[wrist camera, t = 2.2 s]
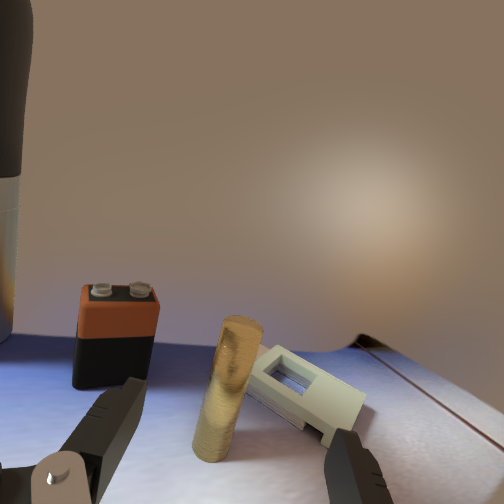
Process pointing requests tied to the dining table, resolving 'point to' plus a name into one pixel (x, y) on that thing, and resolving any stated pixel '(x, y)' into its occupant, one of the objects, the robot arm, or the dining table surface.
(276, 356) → the plate with square hole
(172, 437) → the dining table surface
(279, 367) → the chain end lower
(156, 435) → the dining table surface
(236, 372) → the pin
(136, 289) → the battery
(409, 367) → the dining table surface
